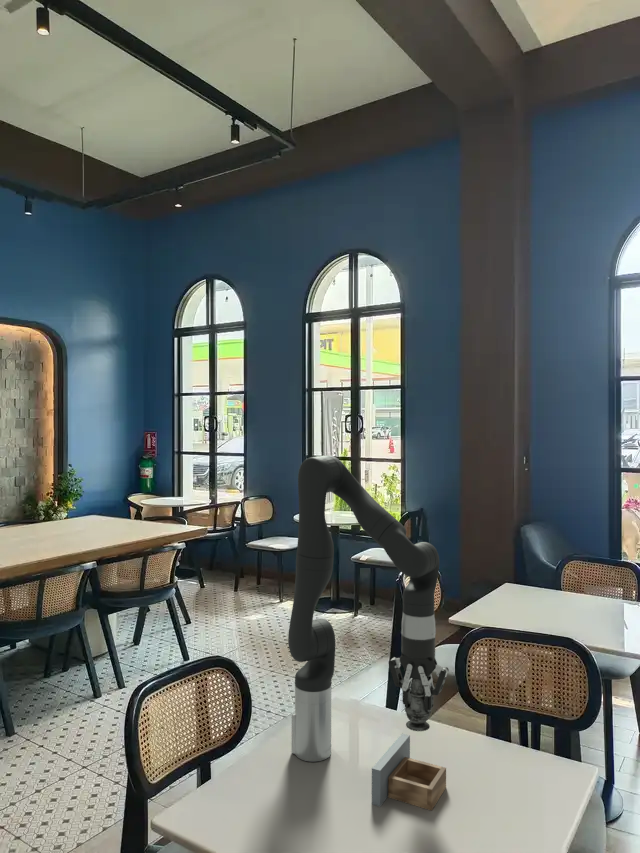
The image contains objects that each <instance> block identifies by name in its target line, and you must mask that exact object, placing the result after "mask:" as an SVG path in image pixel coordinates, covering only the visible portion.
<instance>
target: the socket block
mask: <svg viewBox="0 0 640 853" xmlns="http://www.w3.org/2000/svg"><path fill="white" fill-rule="evenodd" d="M446 788H447V767H444V766H440V765H437V764H433V763H430V762H425V761H422V760H418V759H415V758H411V757H410V758H408V757H404V759H403V760H402V761H401V762H400V764H399V765H398V766H397V767H396V769H395V770H394V771H393V772H392V774H391V775H390V776H389V777H388V797H387V798H389V799H393V800H396V801H399V802H402V803H405V804H408V805H412V806H414V807H415V806H416V807H418V808H422V809H425V810H429V811H433V810H434V808H435V806H436V804H437V803H438V801H439V800H440V798H441V796H442V795H443V793H444V792H445V790H446Z"/></svg>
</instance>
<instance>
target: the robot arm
mask: <svg viewBox="0 0 640 853" xmlns="http://www.w3.org/2000/svg"><path fill="white" fill-rule="evenodd" d="M297 488H298V489H297V490H298V526H297V527H298V529H297V530H298V531H297V533H298V534H297V546H296V556H295V558H296V559H295V581H294V593H293V602H292V608H291V609H292V610H291V614H290V622H289V627H288V635H287V639H288V640H287V641H288V650H289V653H290V655H291V657H292V659H293V660H294V661H296V662H298V663H305V662H306V663H305V664H304V665H303V666H302V667H300V668H299V669H298V670H297V671H296V673H295V676H294V713H293V714H291V751H290V752H291V754H294V755H295V756H296V757H297V758H298V759H299V760H302V761H305V762H314V763H315V762H321V761H324V760H326V759H328V758H329V757H330V756H331V754H332V679H333V677H334V674H335V662H336V661H335V659H336V633H335V631H334V627H333V625H332V624H331V623H330V621H329V620H327V619H326V618H316V619H315V618H314V614H315V610H316V606H317V605H318V602H319V600H320V598H321V596H322V595H323V592H324V591H325V590H326V588H327V585H328V584H329V582H330V580H331V577H332V576H333V570H334V559H335V556H334V555H335V547H334V541H333V538H332V534H331V531H330V529H329V527H328V524H327V521H326V515H325V514H326V513H325V512H326V500H327V493H328V494H329V493H332V494H334V495H335V496H337V497H338V498H340V499H341V501H343V502H345V504H346V505H347V506H348V507H349V508H350V510H351V511H352V514H353V515H354V517H355V519H356V520H357V521H356V522H357V523H358V524H359V526H360V528H361V529H362V530H363V531H364V532H365V533H366V534H367V535H368V536H369V537H370V538H371V539H372V540H373V541H374V542H375V543H377V545H379V546H380V547H382V549H383V550H384V552H385V553H386V555H387V556H388V557H389V559H390V561H391V562H392V564H393V565H394V566H395V567H396V569H397V570H399V572H401V573H402V574H403V575H405V576H407V577H408V578H409V582H408V584H407V585H406V586H405V587H404V589H403V593H402V618H401V648H400V649H401V651H400V652H401V655H400V656H399V657H395V656H393V657H392V658H391V659H389V661H388V666H389V670H390V672H391V676H392V680H393V681H392V682H393V683H394V686H395V687H396V688H397V687H399V688H400V689H401V691H402V704H403V705H404V708H405V707H406V708H408V707H409V706H410V704H411V694H410V691H412V688H411V687H412V678H417V679H420V680H422V684H423V686H424V691H425V693H426V695H425V712H429V711H430V710H431V711H432V709H433V708H434V696H438V695H439V694H440V693H441V692H442V691H443V688H444V685H445V682H446V679H447V677H448V674H449V672H450V671H449V670H450V669H449V667H447V666H444V667H443V666H441V665H439V664H438V662H437V659H436V634H437V629H436V618H435V592H436V591H435V590H436V587H437V583H438V579H439V578H438V576H439V571H440V556H439V552H438V551H437V550H438V549H437V548H436V547H435V546H434V545H433V544H431V543H430V542H427V541H422V542H416V543H415V544H414V543H413V542H412V541H411V540H410V539H409V538H408V536H407V530H406V528H405V525H403V524H402V523H401V522H400V521H399V520H398V519H396V517H395V516H393V515H392V514H391V513H390V512H389V511H387V509H385V508H384V507H383V506H382V505H380V503H379V502H377V500H376V499H375V498H373V496H371V494H370V493H368V492H369V491H367V490H366V489H365V488H364V487H363V486H362V484H361V483H360V482H359V481H358V480H357V479H356V477H355V476H354V475H353V474H352V472H351V471H350V470H349V469H348V467H347V466H346V465H345V464H344V463H343V462H342V461H341V460H340V459H339V458H338V457H336V456H333V455H317V456H311V457H308V458H306V459H304V460H303V461H302V463H301V464H300V466H299V469H298V475H297ZM401 667H402V668H403V670H404V671H405V674H404V677H403V675H402V670H401ZM434 671H436V676H437V680H436V683H435V686H434V682H433V680H434V679H433V675H432V674H433V672H434Z"/></svg>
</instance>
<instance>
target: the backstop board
mask: <svg viewBox="0 0 640 853" xmlns="http://www.w3.org/2000/svg"><path fill="white" fill-rule="evenodd" d="M404 757H408V758H411V735H410V734H406V733H403V732H402V733H401V734H400V735H399V736H398V737H397V739H396V740H395V741H394V742H393V743H392V744H391V746H389V748H388V749H387V750H386V751H385V752H384V753H383V755H382V756H381V757H380V758H379V759H378V760H377V761H376V763H375V764H374V765H373V766H372V767H371V805H374V806H376V807H382V805H383V803H384V802H385V801H386V800H387V799H388V798H389V797H388V777H389V776H390V775H391V774H392V772H393V771H394V770H395V769H396V767H397V766H398V765H399V764H400V762H401V761H402V760H403V759H404Z"/></svg>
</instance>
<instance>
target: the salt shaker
mask: <svg viewBox="0 0 640 853" xmlns="http://www.w3.org/2000/svg"><path fill="white" fill-rule="evenodd" d="M410 694H411V704H410V706H409V707H408V708H406V707H405V706H404V712H405V715H406V716H407V719H408V721H407V722H406V724H405V727H406V729H408V730H411V731H413V732H424V731H428V730H429V729H430V727H431V726H430V724H429V722H428V720H429V718H430V715H431V713H432V709H431V710H430V711H429V712H425V695H426V693H425V689H424V686H423V684H422V680H420V679H417V678H412V683H411V691H410Z"/></svg>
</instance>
